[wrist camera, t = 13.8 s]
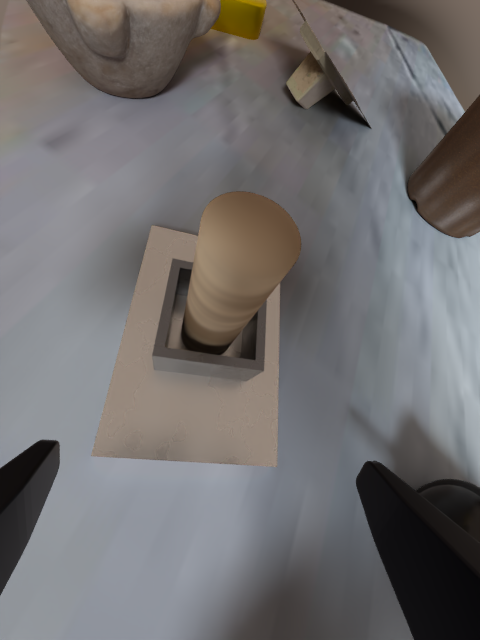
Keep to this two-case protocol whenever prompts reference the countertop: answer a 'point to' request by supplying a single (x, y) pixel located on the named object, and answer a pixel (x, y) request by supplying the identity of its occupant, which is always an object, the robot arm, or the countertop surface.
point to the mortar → (125, 39)
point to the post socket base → (189, 375)
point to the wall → (316, 74)
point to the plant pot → (452, 179)
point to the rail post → (236, 267)
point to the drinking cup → (456, 502)
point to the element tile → (241, 18)
